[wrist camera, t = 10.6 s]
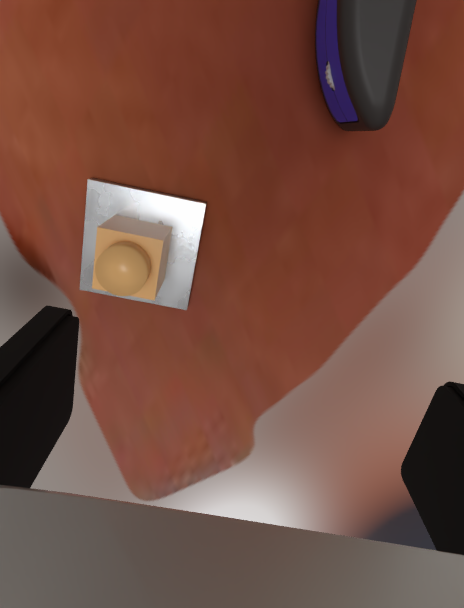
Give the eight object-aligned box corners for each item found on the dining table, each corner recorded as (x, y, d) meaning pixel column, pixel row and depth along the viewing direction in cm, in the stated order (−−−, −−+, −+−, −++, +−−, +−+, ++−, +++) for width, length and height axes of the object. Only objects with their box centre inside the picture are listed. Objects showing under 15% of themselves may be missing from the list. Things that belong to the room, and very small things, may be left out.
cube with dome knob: (115, 214, 36) (89, 232, 30) (172, 226, 36) (159, 246, 30) (109, 269, 38) (84, 296, 32) (164, 280, 38) (150, 309, 32)
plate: (92, 177, 36) (74, 183, 32) (206, 202, 37) (203, 210, 33) (84, 285, 40) (66, 302, 36) (188, 305, 40) (182, 324, 36)
